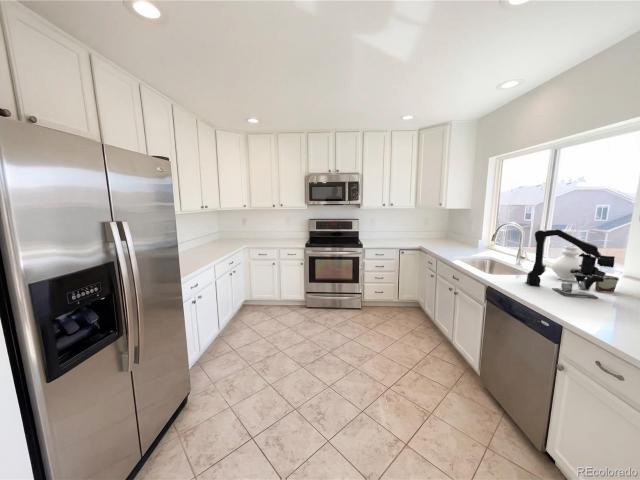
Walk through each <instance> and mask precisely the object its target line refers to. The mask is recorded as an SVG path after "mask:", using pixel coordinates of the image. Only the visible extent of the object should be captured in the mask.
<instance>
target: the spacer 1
mask: <svg viewBox="0 0 640 480" xmlns="http://www.w3.org/2000/svg"><path fill="white" fill-rule="evenodd" d="M560 288H561V290H563V291H568V292H571V291H572V289H573V283H572V282H570V281H561V286H560Z"/></svg>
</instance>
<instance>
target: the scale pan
mask: <svg viewBox="0 0 640 480" xmlns="http://www.w3.org/2000/svg"><path fill="white" fill-rule="evenodd" d="M555 288H556V289H558V290H559V291H561V292H563V293H565V294H578V295H592V296H596V295H595V294H594V293H591V292H590V291H584V290H580V289H578V288H577V289H576V288H572V291H571V292H568V291H563V290H561V287H555Z"/></svg>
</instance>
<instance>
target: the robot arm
mask: <svg viewBox="0 0 640 480" xmlns="http://www.w3.org/2000/svg"><path fill="white" fill-rule="evenodd" d="M552 236H557V237H559V238H562V239H563V240H565V241H566V242H568V243H571V244H572V245H574V246H575V247H578V249H580V250H581V251H582V253H579V254H578V257H579V258H582V260H581V262H582V264H581V265H579V266H580V267H581V269H571V270H570V273H572V274H573V275H574V276H575V279H576V280H577V281H576V282H577V284H578V285H579V281H584V283H585V288H586V289H589V288H590V289H591V286H592V285H593V284H594V283H596V282H604V278H603V277H604V275H607V272H604V271H602V270H599V267H603V268H604V267H605V268H613V269H614V266H615V256H614V255H602V253H601V252H599V250H598V249H599V248H598V246H597V245H595V244H593V243H590V242H588V241H584V240H582V239H580V238H577V237H575V236H574V235H572V234H570V233H567V232H565V231H563V230H562V229H560V228H556V229H548V230H545V229H538V230H537V231H535V233H534V238H535V242H536V243H535V244H536V248H535V260H534V265H533V267H532V270H530V271H529V272H528V273H527V275H526V281H525V282H524V283H525V284H527V285H529V286H534V287H541V276H542V275H543V274H544V273H545V272H546V271H547V270H546V267H547V265H546V264H544V250H545V242H546V239H547V238H548V237H552ZM596 264H597V265H598V266H599V267H597V266H596ZM574 273H575V274H574ZM596 275H598V276H596ZM600 276H601V277H600Z"/></svg>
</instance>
